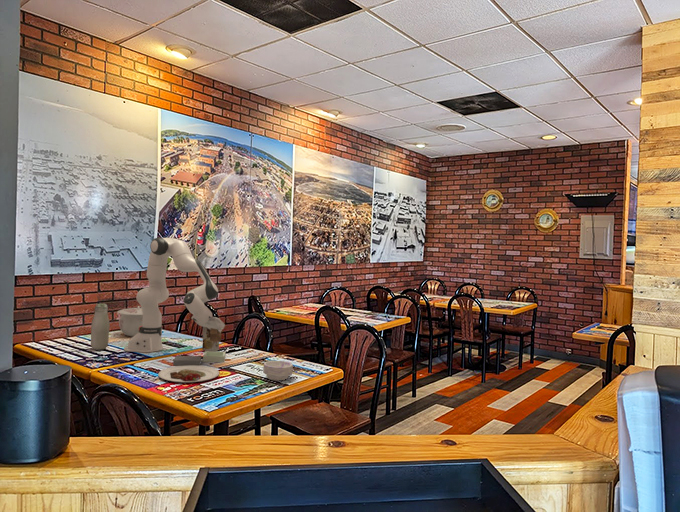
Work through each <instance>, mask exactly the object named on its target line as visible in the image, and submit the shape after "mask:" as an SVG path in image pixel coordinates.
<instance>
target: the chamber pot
mask: <svg viewBox="0 0 680 512" xmlns="http://www.w3.org/2000/svg"><path fill="white" fill-rule="evenodd" d="M116 313H117V314H118V315H119V314H120V316H119V318H118V324H119V329H120V331H121V332H122V333H123V334H124V335H125V336H127V337H131V338H132V337H133V336H135V335H136V334H138V333H139V327H140V326H142V324H143V313H142V308H141V305H138V306H137V307H129V308H124V309H123V308H122V309H120V310H117V312H116Z"/></svg>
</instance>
